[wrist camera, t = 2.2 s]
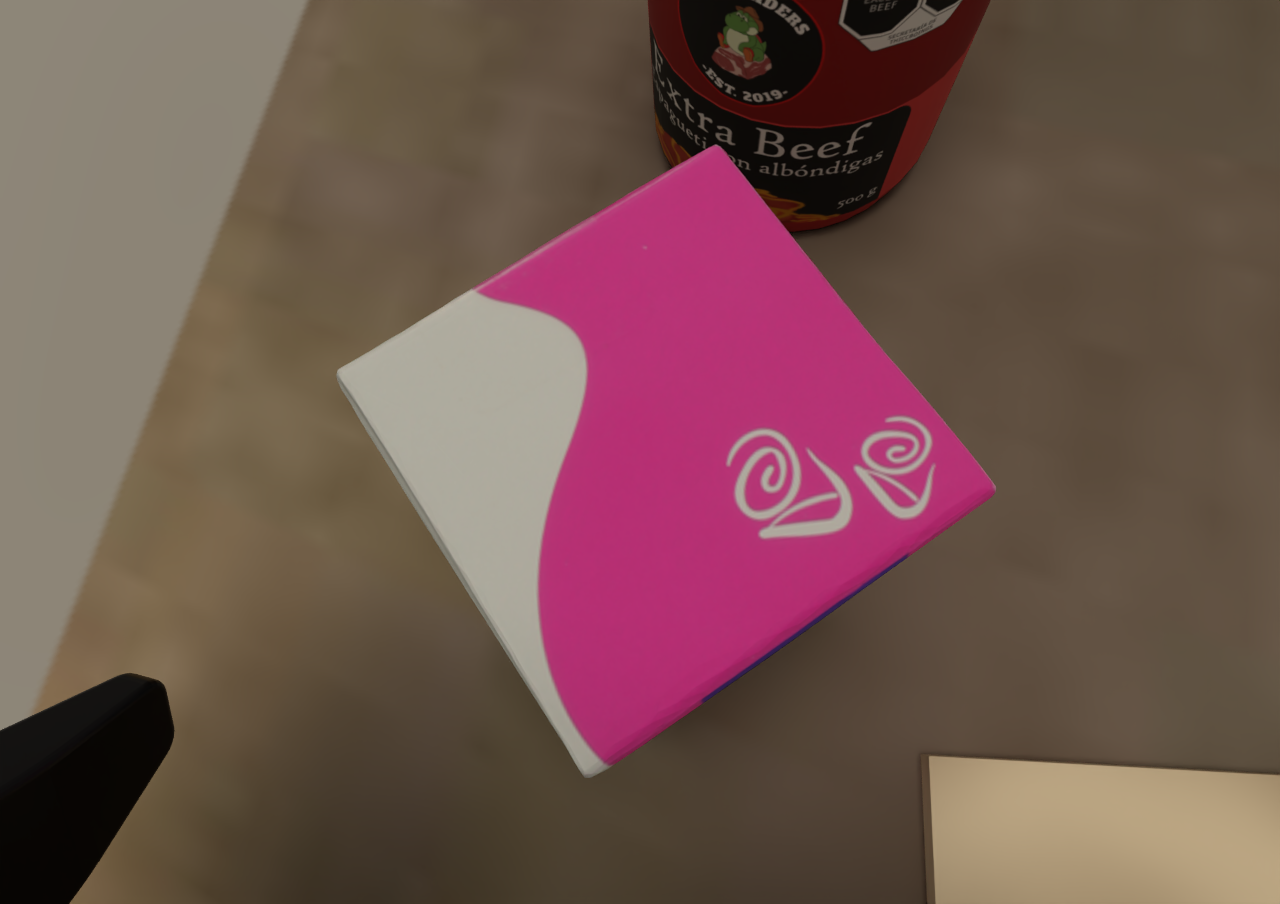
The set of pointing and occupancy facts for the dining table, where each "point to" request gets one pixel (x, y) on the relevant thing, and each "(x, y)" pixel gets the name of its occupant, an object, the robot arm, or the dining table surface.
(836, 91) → the canned food
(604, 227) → the supplement box
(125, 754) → the robot arm
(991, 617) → the dining table surface
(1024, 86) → the dining table surface
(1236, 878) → the oak board
